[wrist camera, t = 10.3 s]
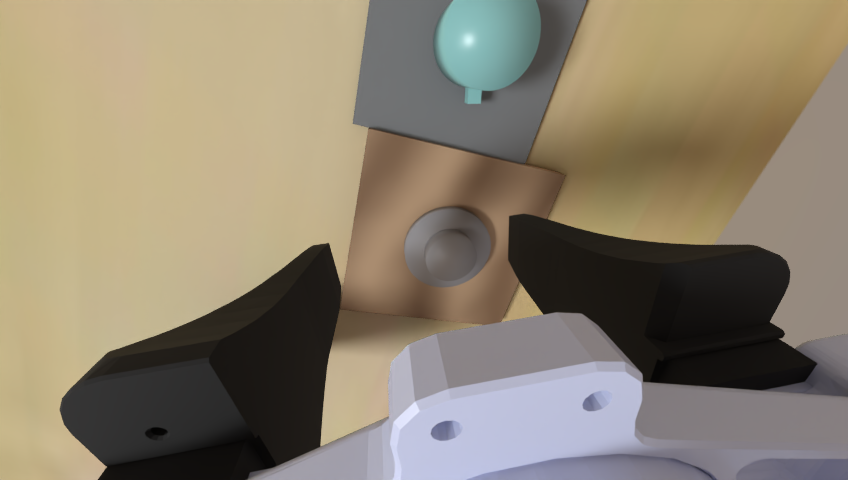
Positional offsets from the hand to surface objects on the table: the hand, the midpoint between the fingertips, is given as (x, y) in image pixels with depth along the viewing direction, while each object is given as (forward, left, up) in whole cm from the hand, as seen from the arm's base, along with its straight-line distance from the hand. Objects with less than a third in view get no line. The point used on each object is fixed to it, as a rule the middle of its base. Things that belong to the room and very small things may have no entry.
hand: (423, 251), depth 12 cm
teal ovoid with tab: (-2, -9, -10) cm, 14 cm away
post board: (-4, +4, -10) cm, 12 cm away
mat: (-2, -9, -10) cm, 14 cm away
